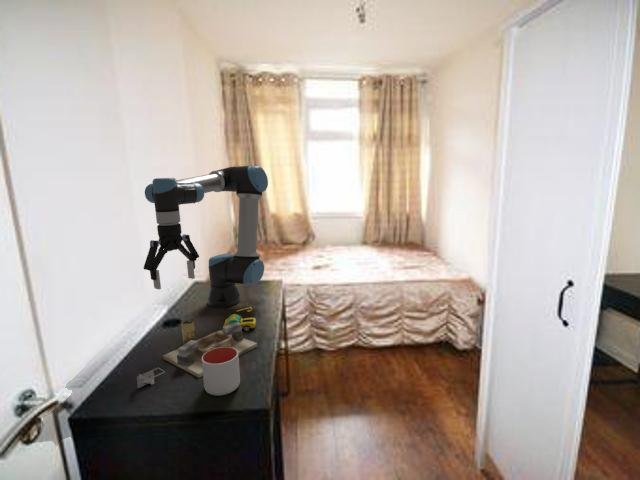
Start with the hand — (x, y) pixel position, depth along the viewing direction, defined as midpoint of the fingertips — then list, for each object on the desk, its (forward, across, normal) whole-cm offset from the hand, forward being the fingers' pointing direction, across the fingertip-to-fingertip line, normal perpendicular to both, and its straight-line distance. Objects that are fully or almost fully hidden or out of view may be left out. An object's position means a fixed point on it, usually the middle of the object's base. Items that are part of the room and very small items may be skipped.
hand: (175, 283), depth 126 cm
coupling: (+23, -2, +2) cm, 23 cm away
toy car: (+24, -20, +9) cm, 33 cm away
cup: (+23, +11, +34) cm, 43 cm away
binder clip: (+24, +21, +15) cm, 35 cm away
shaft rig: (+23, -1, +15) cm, 27 cm away
